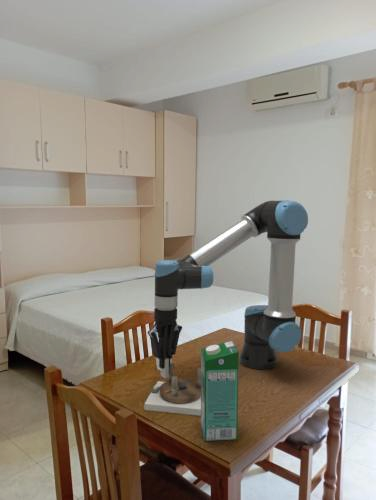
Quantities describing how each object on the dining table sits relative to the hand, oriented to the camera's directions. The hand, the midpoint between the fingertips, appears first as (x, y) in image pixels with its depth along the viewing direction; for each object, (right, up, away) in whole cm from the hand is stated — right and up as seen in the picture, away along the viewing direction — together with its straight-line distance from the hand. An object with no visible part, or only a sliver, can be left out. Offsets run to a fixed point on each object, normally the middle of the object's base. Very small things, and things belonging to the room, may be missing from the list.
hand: (164, 376), depth 134 cm
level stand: (+6, -7, -3) cm, 9 cm away
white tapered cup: (-1, -4, +22) cm, 23 cm away
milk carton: (+16, -9, -21) cm, 28 cm away
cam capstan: (+5, -4, -3) cm, 8 cm away
